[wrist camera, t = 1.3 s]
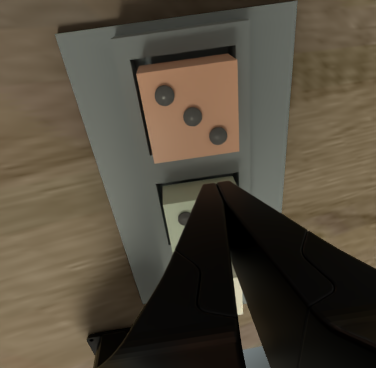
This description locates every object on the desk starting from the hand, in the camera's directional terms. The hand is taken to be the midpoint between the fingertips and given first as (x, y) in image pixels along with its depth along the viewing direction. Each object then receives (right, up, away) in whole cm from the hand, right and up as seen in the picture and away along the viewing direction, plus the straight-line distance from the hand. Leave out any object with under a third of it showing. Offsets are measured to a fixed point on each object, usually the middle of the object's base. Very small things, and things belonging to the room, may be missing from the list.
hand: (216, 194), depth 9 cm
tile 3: (-1, +5, +8) cm, 10 cm away
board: (0, 0, +14) cm, 14 cm away
